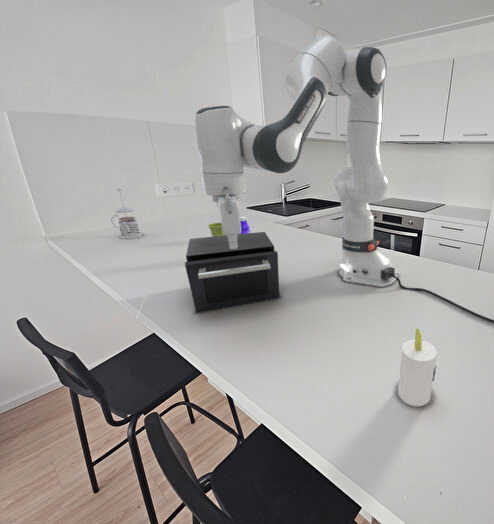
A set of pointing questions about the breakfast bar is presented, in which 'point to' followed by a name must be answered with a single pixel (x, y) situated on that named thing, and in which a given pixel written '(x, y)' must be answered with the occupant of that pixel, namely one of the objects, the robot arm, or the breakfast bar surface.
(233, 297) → the oven door
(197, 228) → the breakfast bar surface
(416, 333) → the candle
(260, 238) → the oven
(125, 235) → the french press
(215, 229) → the plant pot
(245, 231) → the bottle
